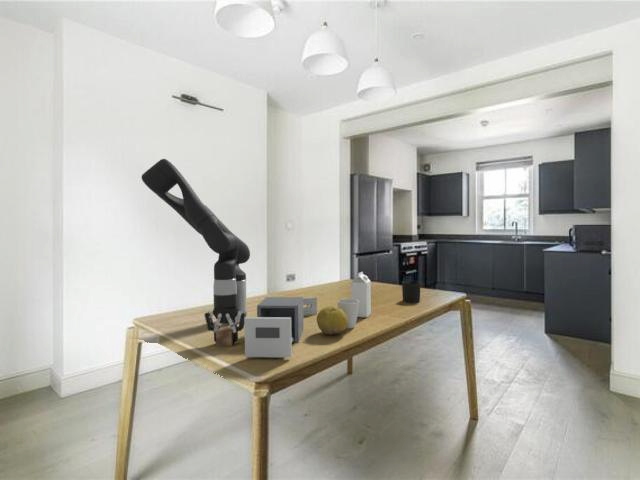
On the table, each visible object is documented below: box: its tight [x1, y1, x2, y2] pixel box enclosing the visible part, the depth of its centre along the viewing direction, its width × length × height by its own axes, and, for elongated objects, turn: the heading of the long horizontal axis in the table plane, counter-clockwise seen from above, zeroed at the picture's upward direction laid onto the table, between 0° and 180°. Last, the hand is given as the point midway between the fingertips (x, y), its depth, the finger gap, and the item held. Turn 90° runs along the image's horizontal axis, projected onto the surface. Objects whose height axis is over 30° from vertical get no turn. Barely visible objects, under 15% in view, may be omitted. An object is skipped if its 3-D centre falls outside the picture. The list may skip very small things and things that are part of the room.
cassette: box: [303, 296, 318, 317], centre depth 157 cm, size 12×2×8 cm, turn 113°
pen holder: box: [401, 280, 421, 303], centre depth 185 cm, size 9×9×10 cm
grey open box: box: [256, 296, 304, 343], centre depth 127 cm, size 14×15×12 cm
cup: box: [337, 298, 358, 329], centre depth 137 cm, size 8×8×10 cm
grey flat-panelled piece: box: [244, 316, 293, 358], centre depth 110 cm, size 14×15×11 cm
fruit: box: [316, 305, 348, 335], centre depth 128 cm, size 11×12×10 cm
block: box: [215, 326, 234, 348], centre depth 118 cm, size 5×5×5 cm
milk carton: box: [350, 271, 372, 318], centre depth 155 cm, size 7×7×19 cm
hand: (226, 342), depth 118 cm, fingers closed on block, 5 cm apart
